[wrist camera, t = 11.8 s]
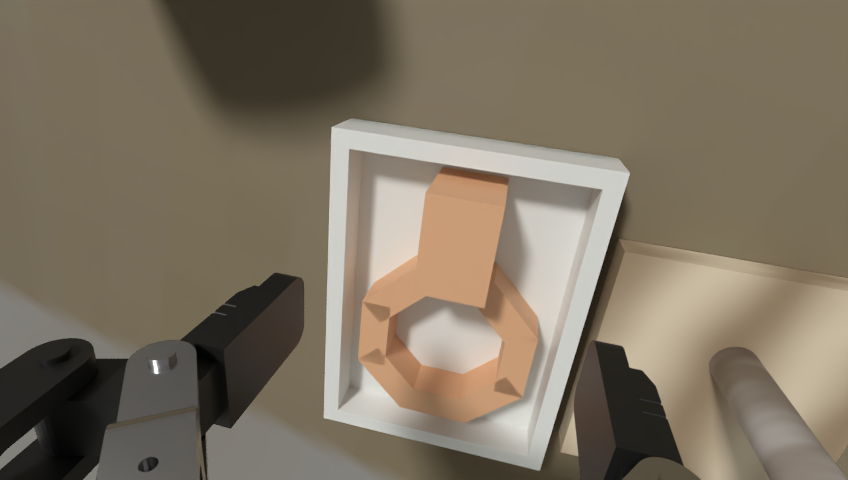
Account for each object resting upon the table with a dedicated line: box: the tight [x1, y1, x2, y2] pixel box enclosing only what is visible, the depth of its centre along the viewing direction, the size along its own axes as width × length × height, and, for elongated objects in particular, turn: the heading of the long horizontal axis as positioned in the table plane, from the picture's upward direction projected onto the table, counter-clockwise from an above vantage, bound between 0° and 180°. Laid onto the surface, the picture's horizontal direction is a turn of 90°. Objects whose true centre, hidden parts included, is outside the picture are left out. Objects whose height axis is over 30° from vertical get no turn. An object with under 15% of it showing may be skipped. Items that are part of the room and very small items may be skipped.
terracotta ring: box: [358, 167, 538, 423], centre depth 22 cm, size 8×13×4 cm
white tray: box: [324, 118, 630, 471], centre depth 23 cm, size 12×16×2 cm
